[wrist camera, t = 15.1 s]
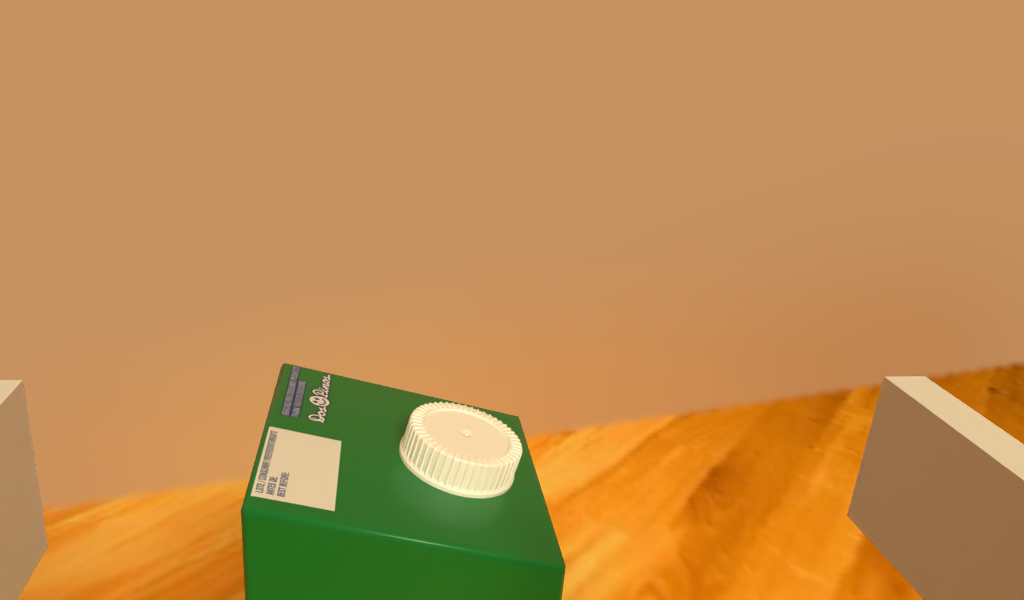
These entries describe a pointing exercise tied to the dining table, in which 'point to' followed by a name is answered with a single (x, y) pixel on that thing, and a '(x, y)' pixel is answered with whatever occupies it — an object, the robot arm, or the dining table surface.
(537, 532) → the milk carton
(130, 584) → the dining table surface
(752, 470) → the dining table surface
